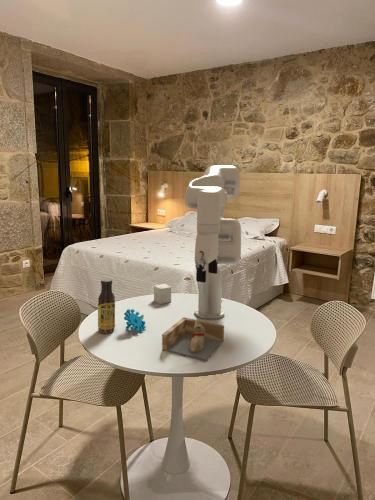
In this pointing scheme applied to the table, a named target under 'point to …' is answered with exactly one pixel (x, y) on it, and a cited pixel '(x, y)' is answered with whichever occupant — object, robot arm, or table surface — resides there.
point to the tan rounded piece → (197, 338)
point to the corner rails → (190, 331)
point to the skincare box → (162, 293)
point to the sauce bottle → (106, 307)
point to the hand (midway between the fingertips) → (207, 277)
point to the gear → (134, 320)
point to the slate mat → (184, 343)
